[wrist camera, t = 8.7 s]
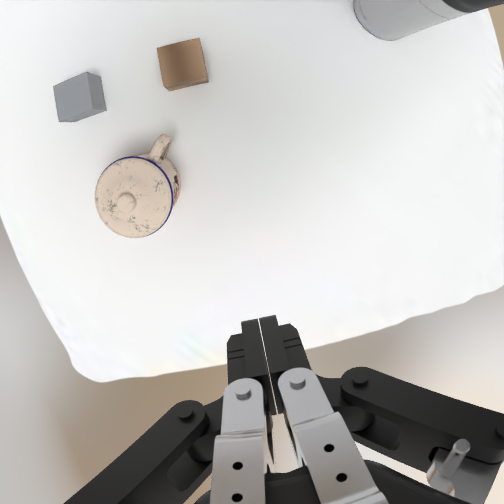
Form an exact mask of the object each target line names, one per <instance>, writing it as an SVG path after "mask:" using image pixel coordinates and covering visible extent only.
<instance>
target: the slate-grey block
mask: <svg viewBox="0 0 504 504" xmlns="http://www.w3.org/2000/svg"><path fill="white" fill-rule="evenodd" d="M53 88H54V95H55V102H56V108H57V114H58V119H59V122H76V121H79V120H82V119H84V118H87V117H90V116H92V115H95V114H98V113H101V112H104V111H107V110H106V105H105V99H104V93H103V87H102V81H101V77H99V76H97V75H94V74H91V73H89V72H85V73H83V74H80V75H78V76H76V77H73V78H71V79H68V80H66V81H64V82H62V83H59V84H57V85H55V86H53Z"/></svg>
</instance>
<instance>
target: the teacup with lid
mask: <svg viewBox="0 0 504 504" xmlns="http://www.w3.org/2000/svg"><path fill="white" fill-rule="evenodd" d="M170 144H171V137H170V136H168V135H166V134H162V135H161V136H160V137H159V138H158V139H157V141H156V142H155V144H154V146H153V147H152V149H151V151H150V153H147V154H141V155H138V156H131V157H125V158H121V159H119V160H117V161H115V162H113V163H112V164H110V165H109V166H108V167H107V168H106V169H105V170H104V171H103V173H102V174H101V176H100V178H99V180H98V183H97V186H96V190H95V204H96V208H97V211H98V214H99V216H100V218H101V219H102V221H103V222H104V224H105V225H106V226H107V227H108V228H109V229H111V230H112V231H113V232H115V233H117V234H119V235H121V236H124V237H130V238H140V237H145V236H148V235H151V234H152V233H154V232H156V231H157V230H159V229H160V228H161V227H162V226H163V225H164V224H165V222H166V221H167V219H168V217H169V216H170V213H171V210H172V207H173V206H174V204H175V203H176V201H177V199H178V196H179V193H180V178H179V175H178V172H177V170H176V168H175V167H174V165H173V164H172V163H171V162H170V161H169V160H168V159H166V158H165V156H166V154H167V152H168V149H169V147H170Z"/></svg>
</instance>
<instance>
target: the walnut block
mask: <svg viewBox="0 0 504 504" xmlns="http://www.w3.org/2000/svg"><path fill="white" fill-rule="evenodd" d="M157 52H158V58H159V63H160V69H161V74H162V80H163V85H164V87H166V88H167V89H168V90H169V91H173V90H177V89H181V88H185V87H190V86H194V85H199V84H203V83H208V78H207V73H206V67H205V62H204V57H203V52H202V47H201V43H200V39H199V38H197V39H192V40H187V41H183V42H179V43H175V44H171V45H167V46H163V47H159V48H157Z"/></svg>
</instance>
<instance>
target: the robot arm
mask: <svg viewBox="0 0 504 504" xmlns="http://www.w3.org/2000/svg"><path fill="white" fill-rule="evenodd" d="M501 4H504V0H355V1H354V9H355V13H356V16H357V18H358V20H359V21H360V23H361V24H362V25H363V27H364V28H365V29H366V30H367V31H369V32H370V33H371V34H373V35H374V36H376V37H378V38H381V39H384V40H392V41H393V40H398V39H400V38H403V37H405V36H407V35H410V34H413V33H415V32H418V31H420V30H423V29H426V28H428V27H431V26H434V25H437V24H439V23H442V22H445V21H448V20H451V19H454V18H457V17H460V16H463V15H466V14H469V13H472V12H476V11H479V10H482V9H485V8H489V7H492V6H497V5H501ZM259 321H260V326H261V331H262V336H263V341H264V346H265V351H264V347H263V342H262V337H261V332H260V328H259V323H258V319H253V320H248V321H243V322H241V326H242V333H241V334H236V335H231V337H230V338H229V340H228V342H227V364H228V386H227V387H226V389H225V391H224V395H223V396H222V397H221V398H220V399H218V400H216V401H214V402H212V403H210V404H208V405H205V406H203V405H202V404H201V403H199V402H197V401H193V400H187V401H182V402H179V403H177V404H176V405H174V406H173V407H172V408H171V409H170V410H169V411H168V412H167V413H166V414H165V415H164V416H162V418H160V419H159V420H158V421H157V422H156V423H155V424H154V425H153V426H152V427H151V428H150V429H148V430H147V431H146V432H145V433H144V434H143V435H142V436H141V437H140V438H139V439H138V440H136V441H135V442H134V443H133V444H132V445H131V446H130V447H129V448H128V449H127V450H125V451H124V452H123V453H122V454H121V455H120V456H119V457H118V458H116V459H115V460H114V461H113V462H112V463H111V464H110V465H109V466H107V467H106V468H105V469H104V470H103V471H102V472H100V473H99V474H98V475H97V476H96V477H95V478H94V479H92V480H91V481H90V482H89V483H88V484H86V485H85V486H84V487H83V488H82V489H80V490H79V491H78V492H77V493H76V494H75V495H73V496H72V497H71V498H70V499H68V500H67V501H66V502H65V503H64V504H183V503H184V502H185V501H186V500H187V499H188V498H189V497H190V496H191V495H192V494H193V493H194V492H195V490H196V489H197V488H198V487H199V486H200V485H201V484H202V483H203V482H204V481H205V479H206V478H207V477H208V476H209V475H210V474H211V473H212V482H211V490H209V491H208V492H206V493H205V494H203V495H202V496H201V497H200V498H199V499H198V500H197V501H196V502H195V503H194V504H484V502H485V500H486V498H487V496H488V494H489V491H490V489H491V487H492V485H493V482H494V480H495V478H496V475H497V473H498V470H499V468H500V465H501V464H502V463H503V462H504V414H502V413H499V412H496V411H492V410H489V409H486V408H483V407H479V406H476V405H473V404H470V403H467V402H463V401H460V400H457V399H454V398H451V397H448V396H445V395H442V394H439V393H437V392H433V391H431V390H428V389H425V388H422V387H419V386H416V385H413V384H411V383H408V382H405V381H402V380H400V379H397V378H394V377H392V376H389V375H386V374H384V373H381V372H378V371H376V370H373V369H370V368H367V367H356V368H352V369H350V370H348V371H346V372H345V373H344V374H343V375H342V377H341V378H324V377H320V376H318V375H317V374H315V373H314V372H313V371H312V369H311V367H310V364H309V362H308V359H307V356H306V353H305V350H304V347H303V345H302V342H301V339H300V336H299V333H298V331H297V329H296V328H295V327H293V326H292V325H291V324H285V325H280V326H278V322H277V319H276V315H272V316H267V317H263V318H259ZM265 352H266V356H265ZM266 357H267V361H266ZM267 362H268V367H269V372H270V377H271V381H272V386H273V391H274V396H275V400H276V405H277V410H278V414H281V413H284V418H285V423H286V428H287V431H288V434H289V437H290V440H291V444H292V447H293V450H294V453H295V456H296V459H297V462H298V465H299V468H298V469H296V470H293V471H291V472H288V473H276V463H275V449H274V436H273V429H272V428H273V421H272V415H276V414H277V413H276V408H275V403H274V398H273V393H272V388H271V382H270V377H269V372H268V367H267ZM354 441H356V442H358V443H360V444H362V445H364V446H366V447H368V448H370V449H372V450H375V451H377V452H379V453H381V454H383V455H385V456H388V457H390V458H392V459H394V460H397V461H399V462H401V463H404V464H406V465H408V466H411V467H413V468H416V469H418V470H420V471H423V472H425V473H427V481H428V483H429V484H430V486H431V487H429V486H427V485H425V484H423V483H420V482H418V481H416V480H414V479H412V478H409V477H407V476H405V475H403V474H401V473H399V472H397V471H395V470H393V469H391V468H389V467H387V466H385V465H383V464H380V463H377V462H374V461H370V460H363V459H362V456H361V455H360V452H359V450H358V448H357V446H356V444H355V442H354ZM432 487H433V488H432Z"/></svg>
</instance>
